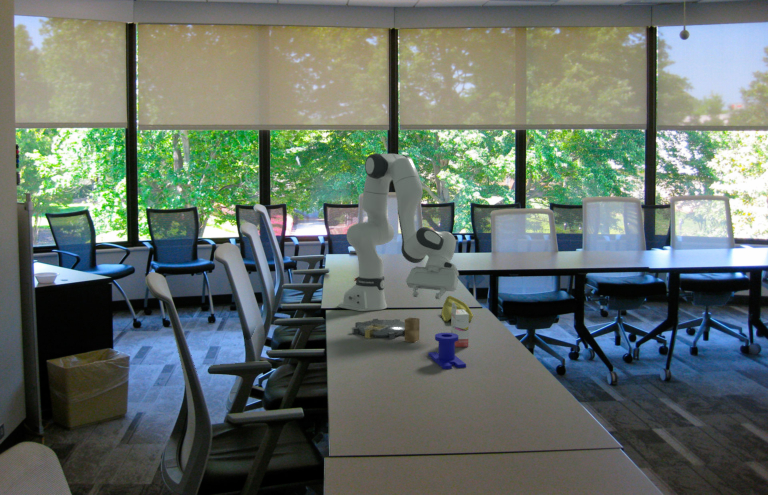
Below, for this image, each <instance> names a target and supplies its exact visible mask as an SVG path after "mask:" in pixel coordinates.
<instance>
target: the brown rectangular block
mask: <svg viewBox="0 0 768 495" xmlns="http://www.w3.org/2000/svg"><path fill="white" fill-rule="evenodd" d="M404 322H405V335H404V342H408V343H417V342H418V341H420V318H418V317H417V318H416V317H411V316H410V317H408V318H405V319H404ZM416 341H417V342H416Z"/></svg>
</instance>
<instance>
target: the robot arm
mask: <svg viewBox="0 0 768 495" xmlns="http://www.w3.org/2000/svg"><path fill="white" fill-rule="evenodd" d="M364 171H365V173H366V178H365V182H364V186H363V192H362V194H363V195H362V200H361V201H362V202H361V207H362V209H363V211H364V212H365V213H366V215H367V222H358V223H356V224H353V225H351V226H349V228H348V229H347V231H346V240H347V242H348V243H349V245H350V246H351V247H352V248H353V249H354V251H355V254H356V256H357V260H358V261H357V262H358V276H357V277H356V278H354V279H353V282H355V284H354V285H353V286H352V287H350V288H349V289H348V290H347V291H346V292H345V293H344V294H343V300H342V302H340V303H339V304H338V308H342V309H347V310H352V311H359V312H367V311H381V310H385V309H387V308H388V304H387V301H386V297H385V296H386V295H385V276H384V260H383V257H381V255H379V254H378V252H377V248H376V247H377V246H383V245H386V244H387V243H390V242H391V241H393V239H394V237H395V229H394V227H393V225H392V224H391V223H390V220H389V217H388V200H389V193H390V192H389V191H390V184H391V182H392V183H393V188H394V191H395V196H396V201H397V203H396V204H397V215H398V216H397V217H398V222H399V228H400V232H401V233H400V235H401V241H402V242H401V254H402V257H404V259H405V260H406V261H408V262H410V263H413V264H419V263H422V261H423V260H424V259H425V257H426V256H427V257H428V258H427V260H426V263H425V266H415V267H413V268H411V270H410V272H409V274H408V276H407V277H406V280H405V282H406V285H407V287H408V288H409V289H410V288H411V289H412V291H413V293H412V297H413V298H418V296H419V292H418V290H419V289H420V290H433V291H438V292H436V294H435V299H436V300H441V298H442V296H443V295H445V294H446V293H447V292H455V291H456V290H457V288H458V284H459V278H458V277H459V276H460V273H459V269H458V268H457V266H456V265H455V264H454V263H452V262H451V260H453V257H454V255H455V254H454V253H455V251H456V246H457V241H456V237H455V236H454V235H453V234H452V233H451V232H449V231H446V230H444V231H436V230H434V229H432V228H430V227H427V226H423V227H421V228H418V230H417V228H416V222H415V214H416V211H417V208H418V206H419V204H420V202H421V200H422V197H423V195H424V194H423V192H424V191H423V184H422V180H421V177H420V175H419V172H418V169H417V167H416V165H415V163H414V160H413V158H412V157H411V156H409V155H406V154H397V153H378V152H377V153H372V154H370V155H368V156H367V158H366V160H365V163H364Z"/></svg>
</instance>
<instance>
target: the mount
mask: <svg viewBox="0 0 768 495" xmlns="http://www.w3.org/2000/svg"><path fill="white" fill-rule="evenodd" d="M434 340H435V341H436V342H438V351H433V352H431V351H428V353H427V354H428V355H429V356H430V357H431V358H430V357H429V356H428V357H429V358H430V359H431V360H433V361H434V362H435V363H436V364H437V365H438V366H439V367H440V366H441V367H442V368H441V367H440V368H441V369H442V370H450V369H452V367H453V366H454V367H456V369H463V368H467V363H465V361H463V360H462V359H461V358H459V357H458V356H457V355H456V351H455V350H456V347H455V342H456V341H458V335H457V334H454V333H451V332H439V333H436V334H435V335H434Z"/></svg>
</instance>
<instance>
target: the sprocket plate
mask: <svg viewBox="0 0 768 495" xmlns="http://www.w3.org/2000/svg"><path fill="white" fill-rule="evenodd" d="M354 325H355V327H351V330H352V331H351V332H352V334H353V335H357V334H358V335H361V336H364V338H365V339H372V338H376V339H377V338H378V339H382V338H383V339H386V338H387V339H389V340H392V339H394V340H395V338H397V337H402V336H405V321H400V319H398V318H395V319H378V318H372V319H371V320H367V321H363V322H362V321H356V322H355V324H354Z"/></svg>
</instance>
